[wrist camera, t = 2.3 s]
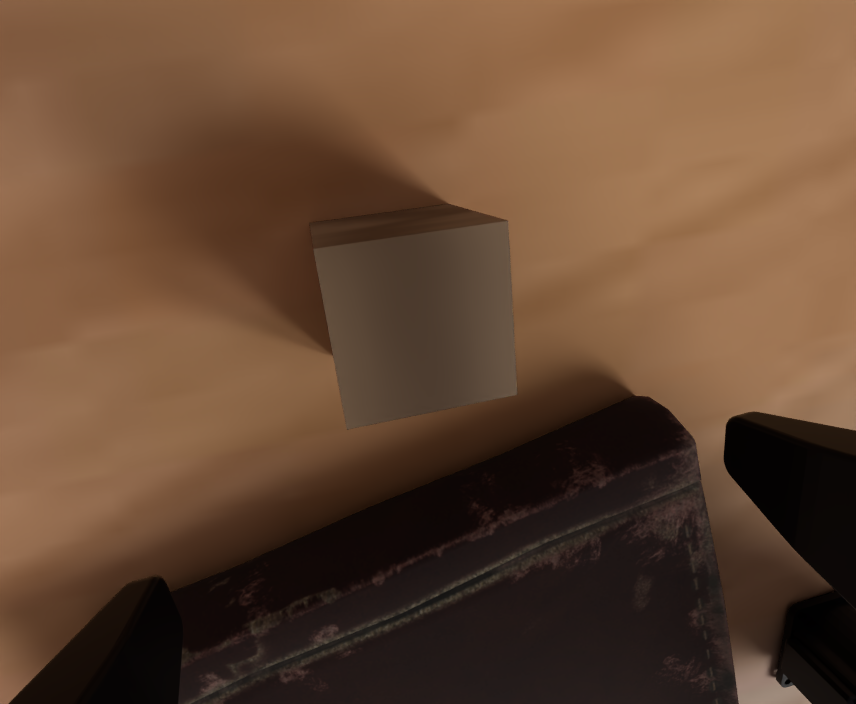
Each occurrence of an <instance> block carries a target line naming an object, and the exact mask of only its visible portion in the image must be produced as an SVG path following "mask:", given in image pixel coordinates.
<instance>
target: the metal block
mask: <svg viewBox="0 0 856 704" xmlns="http://www.w3.org/2000/svg"><path fill="white" fill-rule="evenodd" d="M309 224H310V231H311V237H312V244H313V251H314V256H315V261H316V267H317V272H318V277H319V283H320V288H321V293H322V299H323V304H324V309H325V315H326V320H327V326H328V331H329V336H330V342H331V347H332V352H333V358H334V363H335V368H336V374H337V379H338V384H339V390H340V395H341V401H342V406H343V411H344V417H345V422H346V427H347V430H348V429H352V428H357V427H362V426H367V425H372V424H377V423H382V422H387V421H392V420H396V419H401V418H406V417H411V416H416V415H421V414H426V413H431V412H436V411H440V410H445V409H450V408H455V407H460V406H465V405H470V404H475V403H480V402H484V401H489V400H494V399H499V398H504V397H509V396H514V395H517V378H516V359H515V340H514V322H513V303H512V284H511V265H510V246H509V227H508V221H507V220H504V219H500V218H497V217H493V216H490V215H486V214H483V213H479V212H476V211H472V210H469V209H465V208H462V207H458V206H455V205H451V204H444V205H437V206H429V207H422V208H415V209H407V210H400V211H393V212H386V213H378V214H371V215H364V216H356V217H349V218H342V219H334V220H327V221H320V222H312V223H309Z"/></svg>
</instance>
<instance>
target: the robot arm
mask: <svg viewBox="0 0 856 704" xmlns="http://www.w3.org/2000/svg"><path fill="white" fill-rule="evenodd" d="M724 464H725V467H726V469H727V471H728V473H729V474H730V476H731V477H732V478H733V479H734V480H735V481H736V483H737V484H738V485H739V486H740V487H741V488H742V490H743V491H744V492H745V493H746V494H747V495H748V497H749V498H750V499H751V500H752V501H753V502H754V504H755V505H756V506H757V507H758V508H759V509H760V511H761V512H762V513H763V514H764V515H765V516H766V518H767V519H768V520H769V521H770V522H771V523H772V525H773V526H774V527H775V528H776V529H777V530H778V532H779V533H780V534H781V535H782V536H783V537H784V538H785V540H786V541H787V542H788V543H789V544H790V545H791V546H792V547H793V548H794V549H795V551H796V552H797V553H798V554H799V555H800V556H801V557H802V558H803V559H804V560H805V561H806V562H807V563H808V564H809V565H810V566H811V567H812V568H813V569H814V570H815V571H816V572H817V573H818V574H820V575H821V576H822V577H823V578H824V579H825V580H826V581H827V582H828V583H829V584H830V585H831V586H832V587H833V588H834V589H835V590H836V592H833V593H829V594H826V595H823V596H820V597H816V598H813V599H810V600H806V601H803V602H800V603H797V604H794V605H793V606H792V607H791V608H790V609H789V611H788V615H787V621H786V626H785V632H784V637H783V643H782V648H781V654H780V659H779V665H778V670H777V676H776V680H777V681H778V683H779V684H780V685H781V686H782V687H784V688H785V687H789V686H792V685H795V686H796V687H797V689H798V690H799V691H800V692H801V693H802V694H803V695H804V696H805V697H806V698H807V699H808V700H809V701H810V702H811V703H812V704H856V431H855V430H849V429H844V428H839V427H834V426H828V425H823V424H818V423H813V422H807V421H802V420H797V419H792V418H786V417H781V416H776V415H771V414H766V413H760V412H748V413H744V414H741V415H737V416H733V417H731V418H730V419H729V420H728V422H727V424H726V433H725V447H724ZM182 647H183V623H182V619H181V616H180V613H179V611H178V609H177V607H176V604H175V602H174V600H173V597H172V595H171V593H170V591H169V588H168V586H167V584H166V582H165V580H164V579H163V578H162V577H161V576H158V575H154V576H151V577H147V578H143V579H140V580H136V581H133V582H130V583H128V584H127V585H125V586H124V587H123V588H122V589H121V590H120V591H119V592H118V593H117V594H116V595H115V596H114V597H113V598H112V599H111V600H110V601H109V602H108V603H107V604H106V605H105V606H104V607H103V608H102V610H101V611H100V612H99V613H98V614H97V615H96V616H95V617H94V618H93V619H92V620H91V621H90V622H89V623H88V624H87V625H86V626H85V627H84V628H83V629H82V630H81V631H80V632H79V633H78V634H77V635H76V636H75V637H74V638H73V639H72V640H71V641H70V642H69V643H68V644H67V645H66V646H65V647H64V648H63V649H62V650H61V651H60V652H59V653H58V654H57V655H56V656H55V657H54V658H53V659H52V660H51V661H50V662H49V663H48V664H47V665H46V666H45V667H44V668H43V669H42V670H41V671H40V672H39V673H38V674H37V675H36V676H35V677H34V678H33V679H32V680H31V681H30V682H29V683H28V684H27V685H26V686H25V687H24V688H23V689H22V690H21V691H20V692H19V693H18V695H17V696H16V697H15V698H14V699H13V700H12V701H11V702H10V703H9V704H178V701H179V688H180V674H181V661H182Z"/></svg>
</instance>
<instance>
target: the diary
mask: <svg viewBox="0 0 856 704" xmlns="http://www.w3.org/2000/svg"><path fill="white" fill-rule="evenodd" d="M700 480H701V475H700V468H699V462H698V455H697V449H696V443H695V440H694V439H693V437H692V436H691V434H690V433H689V432H688V431H687V430H686V429H685V428H684V427H683V425H682V424H681V423H680V422H679V421H678V420H677V419H676V418H675V416H674V415H673V414H672V413H671V412H670V411H669V410H668V409H667V408H665V407H664V406H662V405H661V404H659V403H657V402H656V401H654V400H653V399H651V398H650V397H645V396H633V397H631V398H628V399H626V400H624V401H621V402H619V403H617V404H614V405H612V406H610V407H608V408H605V409H603V410H601V411H599V412H596V413H594V414H592V415H589V416H587V417H585V418H583V419H580V420H578V421H576V422H574V423H571V424H569V425H567V426H565V427H562V428H560V429H558V430H555V431H553V432H551V433H549V434H546V435H544V436H542V437H540V438H537V439H535V440H533V441H531V442H528V443H526V444H524V445H521V446H519V447H517V448H515V449H512V450H510V451H508V452H506V453H504V454H501V455H499V456H496V457H494V458H491V459H489V460H486V461H484V462H481V463H479V464H476V465H474V466H471V467H469V468H466V469H464V470H461V471H459V472H456V473H454V474H451V475H449V476H446V477H444V478H441V479H439V480H436V481H434V482H431V483H429V484H426V485H424V486H422V487H419V488H417V489H414V490H412V491H409V492H407V493H404V494H402V495H399V496H397V497H394V498H392V499H389V500H387V501H384V502H382V503H379V504H377V505H374V506H372V507H369V508H367V509H365V510H363V511H360V512H358V513H356V514H354V515H351V516H349V517H347V518H345V519H342V520H340V521H338V522H336V523H333V524H331V525H329V526H327V527H324V528H322V529H320V530H318V531H315V532H313V533H311V534H309V535H306V536H304V537H302V538H300V539H297V540H295V541H293V542H291V543H288V544H286V545H284V546H282V547H279V548H277V549H275V550H273V551H270V552H268V553H266V554H264V555H261V556H259V557H257V558H255V559H253V560H250V561H248V562H246V563H244V564H242V565H239V566H237V567H234V568H231V569H229V570H226V571H224V572H221V573H218V574H216V575H213V576H211V577H208V578H206V579H203V580H201V581H198V582H196V583H193V584H191V585H188V586H186V587H183V588H181V589H178V590H176V591H173V592H170V593H171V595H172V597H173V600H174V602H175V604H176V607H177V609H178V611H179V613H180V616H181V619H182V623H183V647H182V661H181V674H180V688H179V701H178V704H739V703H738V695H737V688H736V680H735V672H734V665H733V657H732V651H731V644H730V637H729V630H728V623H727V616H726V609H725V602H724V597H723V591H722V586H721V581H720V575H719V570H718V565H717V560H716V554H715V549H714V544H713V538H712V533H711V528H710V523H709V518H708V513H707V508H706V503H705V498H704V493H703V488H702V484H701V481H700Z"/></svg>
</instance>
